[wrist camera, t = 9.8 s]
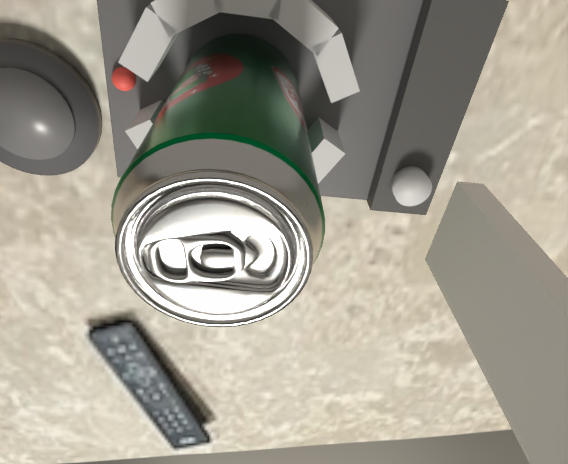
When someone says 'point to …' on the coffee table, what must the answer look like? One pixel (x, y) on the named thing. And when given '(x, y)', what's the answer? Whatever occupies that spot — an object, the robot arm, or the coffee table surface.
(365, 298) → the coffee table surface
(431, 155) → the camera body
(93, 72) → the coffee table surface
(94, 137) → the lens cap
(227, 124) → the soda can
